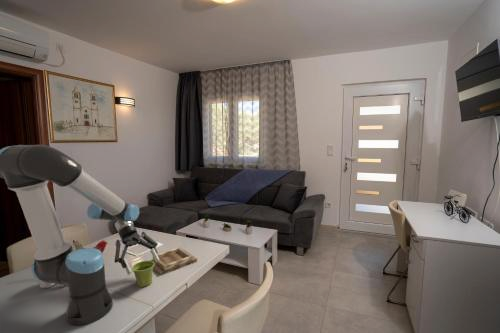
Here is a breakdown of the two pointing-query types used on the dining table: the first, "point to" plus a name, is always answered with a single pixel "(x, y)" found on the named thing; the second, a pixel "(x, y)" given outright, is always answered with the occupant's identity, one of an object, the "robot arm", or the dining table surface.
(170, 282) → the dining table surface
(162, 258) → the walnut pot stand
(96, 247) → the decorative bird figurine
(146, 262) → the plant pot
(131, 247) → the photo frame
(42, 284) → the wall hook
